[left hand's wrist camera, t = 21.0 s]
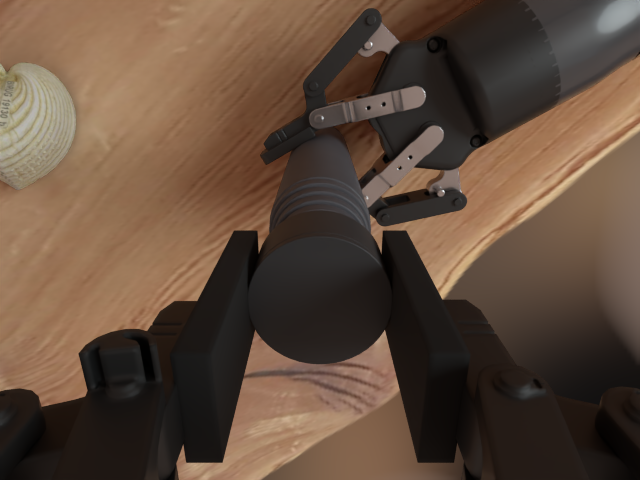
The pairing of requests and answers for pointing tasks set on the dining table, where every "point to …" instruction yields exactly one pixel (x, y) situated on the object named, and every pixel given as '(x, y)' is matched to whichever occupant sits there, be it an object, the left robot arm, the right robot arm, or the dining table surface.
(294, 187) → the bottle
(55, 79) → the seashell
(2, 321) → the dining table surface
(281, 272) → the cap
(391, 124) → the right robot arm
